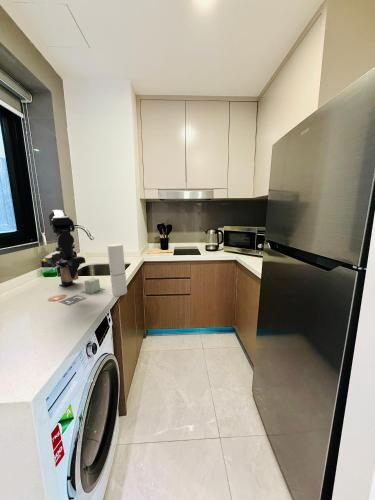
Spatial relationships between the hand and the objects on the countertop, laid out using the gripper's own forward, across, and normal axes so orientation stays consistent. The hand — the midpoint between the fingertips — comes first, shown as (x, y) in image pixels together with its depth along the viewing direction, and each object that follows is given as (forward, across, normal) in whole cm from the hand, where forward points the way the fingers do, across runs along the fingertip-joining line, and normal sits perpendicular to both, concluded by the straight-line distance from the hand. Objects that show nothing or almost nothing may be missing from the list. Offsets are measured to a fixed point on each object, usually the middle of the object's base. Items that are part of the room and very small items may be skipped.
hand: (69, 277), depth 95 cm
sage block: (+11, -2, +12) cm, 16 cm away
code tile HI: (+12, -2, +12) cm, 17 cm away
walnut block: (+1, 0, 0) cm, 1 cm away
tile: (+11, 0, 0) cm, 11 cm away
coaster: (+12, -10, -2) cm, 15 cm away
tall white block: (+12, +14, +16) cm, 24 cm away
